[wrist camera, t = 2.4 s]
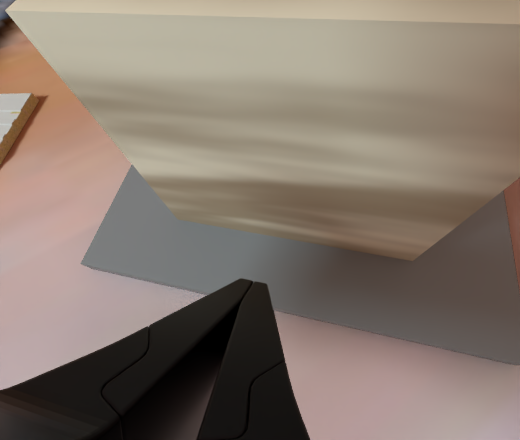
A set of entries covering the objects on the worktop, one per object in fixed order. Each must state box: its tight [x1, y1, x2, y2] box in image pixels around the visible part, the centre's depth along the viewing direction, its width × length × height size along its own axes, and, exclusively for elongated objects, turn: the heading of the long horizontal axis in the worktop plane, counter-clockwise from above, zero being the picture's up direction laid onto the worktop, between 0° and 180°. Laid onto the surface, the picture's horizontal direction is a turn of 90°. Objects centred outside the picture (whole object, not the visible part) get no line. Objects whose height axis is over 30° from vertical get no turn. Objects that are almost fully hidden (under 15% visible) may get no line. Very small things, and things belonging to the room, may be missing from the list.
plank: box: [5, 0, 520, 261], centre depth 12 cm, size 3×14×12 cm, turn 77°
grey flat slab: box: [81, 165, 520, 365], centre depth 19 cm, size 20×24×2 cm
